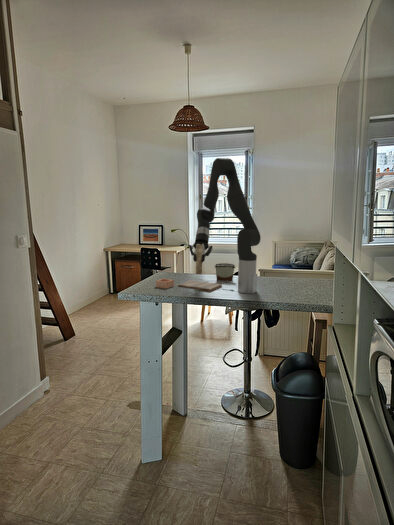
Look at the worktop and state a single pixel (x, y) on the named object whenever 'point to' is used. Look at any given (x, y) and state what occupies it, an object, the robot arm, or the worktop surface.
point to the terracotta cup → (164, 283)
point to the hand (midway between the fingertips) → (198, 261)
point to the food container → (224, 271)
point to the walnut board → (200, 285)
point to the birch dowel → (199, 258)
